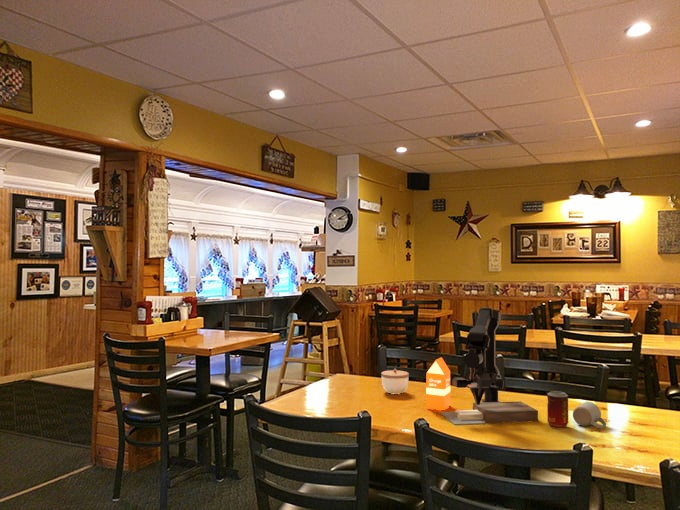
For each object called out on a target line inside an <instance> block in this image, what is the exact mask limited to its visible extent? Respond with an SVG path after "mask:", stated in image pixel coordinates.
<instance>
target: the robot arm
mask: <svg viewBox="0 0 680 510" xmlns="http://www.w3.org/2000/svg"><path fill="white" fill-rule="evenodd" d="M501 320H502V314H501V312H500V311H499V310H498V309H494V308H492V307H484V306H483V307H480V308H479V309H478V318H477V320H476V324H475V326H474V327H471V328H470V330H469V332H468V333H467V334H466V336H467V337H466V340H465V341H466V342H465V346H464V350H469V351H468V352H467V354H465V355H464V359H463V360H464V364H465V365H466V367H468V368H469V371H470V373H469V376H468V378H469V379H466V378H464V377H453V379H452V382H451V383H452V386H454V387H455V388H459V389H460V388H461V389H463V388H468V389H469V390H470V392H471V394H472V396H473V399H474V403H476V404H477V405H480V403H483V402H501V401H499V390H500V391H501V390H503V389H504V387H505V385H504V384H505V382H504V379H503V378H502V375H501V374H500V368H498V366H497V365H496V364H497V363H496V355H497V353H496V336H497V335H496V333H497V332H496V330H497V329H498V327H499V325H500V322H501ZM483 397H484V398H483ZM482 398H483V399H482ZM481 401H482V402H481Z"/></svg>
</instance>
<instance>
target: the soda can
mask: <svg viewBox="0 0 680 510" xmlns="http://www.w3.org/2000/svg"><path fill="white" fill-rule="evenodd" d="M546 394H547V395H546V396H547V404H546V405H547V408H546V410H547V414H546V415H547V422H548V424H549V427H551V428H553V429H559V430H562V429H566V428H567V426H568V424H569V395H568V394H567V393H566V392H563V391H559V390H552V391H549V392H548V393H546Z"/></svg>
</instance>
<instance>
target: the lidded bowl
mask: <svg viewBox="0 0 680 510" xmlns="http://www.w3.org/2000/svg"><path fill="white" fill-rule="evenodd" d="M409 374H410V373H409V372H407V371H403V370H397V368H393V370H384V371H382V372H381V374H380V375H381V384H382V387H383V389H384V390H385V392H388V393H395V394H398V393H402V394H403V393H404V392H405V391H406V390H407V388H408V386H409V376H410V375H409ZM388 393H387V394H388ZM398 395H399V394H398Z"/></svg>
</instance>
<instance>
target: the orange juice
mask: <svg viewBox="0 0 680 510" xmlns="http://www.w3.org/2000/svg"><path fill="white" fill-rule="evenodd" d="M425 374H426V377H425V378H426V380H425V381H426V382H425V383H426V384H425V385H426V386H425V387H426V388H425V390H426V391H425V394H426V395H425V396H426V399H425V400H426V403H425V406H426V407H425V408H426V409H427V410H433V409H436V410H435V411H441V410H445V409H446V410H447V409H449V408H450V407H451V370H450V369H449V367H448V365H447V364H446V361H444V358H443V357H439V358H437V359H435V361H434V362H433V363H432V365H431V366H430V367H429V369H428V371H427V372H426V373H425ZM449 406H450V407H449ZM446 410H445V411H446Z"/></svg>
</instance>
